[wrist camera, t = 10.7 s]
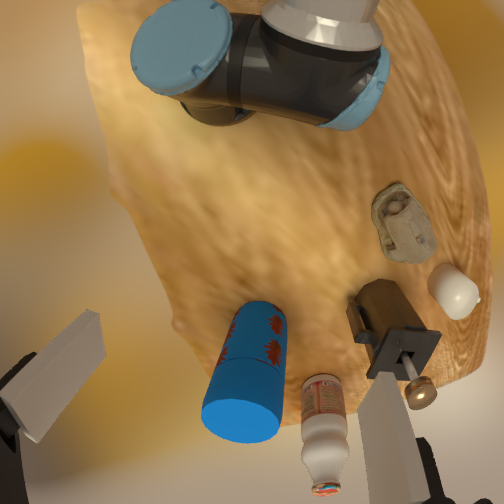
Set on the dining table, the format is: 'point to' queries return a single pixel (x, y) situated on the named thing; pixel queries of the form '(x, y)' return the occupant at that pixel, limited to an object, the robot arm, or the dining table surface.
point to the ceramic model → (403, 226)
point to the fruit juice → (324, 432)
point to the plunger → (417, 386)
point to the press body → (390, 329)
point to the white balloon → (453, 291)
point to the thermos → (249, 377)
